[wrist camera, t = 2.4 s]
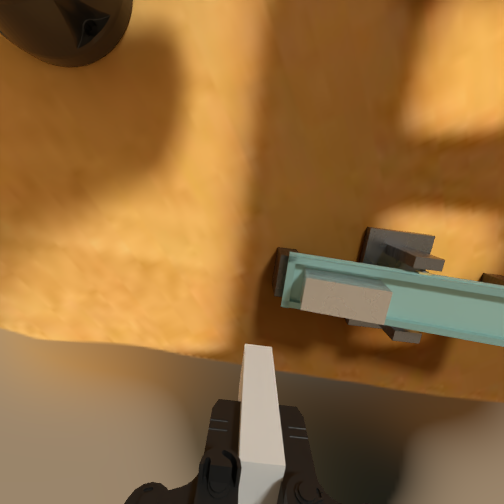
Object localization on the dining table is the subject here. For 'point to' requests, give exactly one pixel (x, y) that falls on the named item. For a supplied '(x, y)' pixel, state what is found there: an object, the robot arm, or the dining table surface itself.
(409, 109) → the dining table surface
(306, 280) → the block
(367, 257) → the stand
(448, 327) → the beam
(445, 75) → the dining table surface
